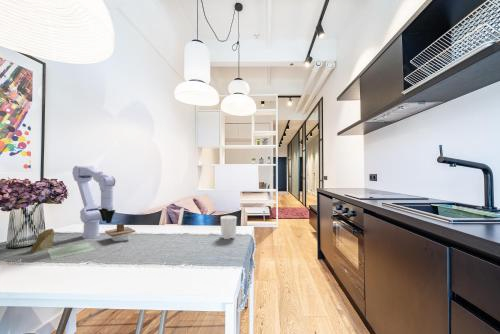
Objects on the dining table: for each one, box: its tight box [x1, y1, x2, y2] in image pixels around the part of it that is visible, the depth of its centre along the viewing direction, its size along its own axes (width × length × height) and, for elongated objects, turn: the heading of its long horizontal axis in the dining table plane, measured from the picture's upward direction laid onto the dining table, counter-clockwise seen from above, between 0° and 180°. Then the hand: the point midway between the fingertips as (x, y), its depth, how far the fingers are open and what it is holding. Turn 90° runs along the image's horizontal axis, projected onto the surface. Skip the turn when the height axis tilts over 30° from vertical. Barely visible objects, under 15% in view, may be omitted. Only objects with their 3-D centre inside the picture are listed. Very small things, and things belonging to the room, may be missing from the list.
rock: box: [29, 228, 55, 254], centre depth 106 cm, size 11×9×10 cm
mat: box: [47, 241, 95, 260], centre depth 106 cm, size 16×16×1 cm
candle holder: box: [220, 215, 238, 240], centre depth 129 cm, size 10×10×12 cm
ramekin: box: [111, 233, 130, 242], centre depth 123 cm, size 9×9×4 cm
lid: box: [104, 222, 136, 238], centre depth 123 cm, size 12×12×5 cm
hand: (106, 221), depth 121 cm, fingers open, 7 cm apart
